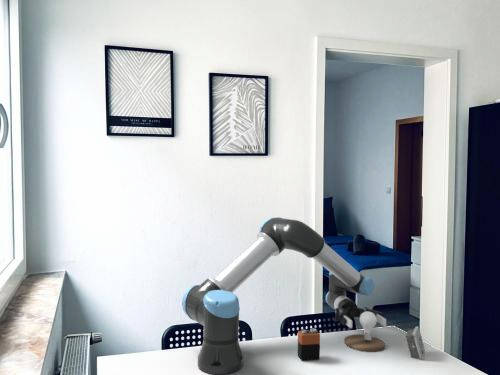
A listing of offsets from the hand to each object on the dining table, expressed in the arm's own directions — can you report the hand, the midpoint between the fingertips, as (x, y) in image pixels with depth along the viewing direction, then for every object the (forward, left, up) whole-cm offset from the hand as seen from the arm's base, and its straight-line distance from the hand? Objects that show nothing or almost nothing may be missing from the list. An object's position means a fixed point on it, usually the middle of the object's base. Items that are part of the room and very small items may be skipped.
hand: (368, 323), depth 159 cm
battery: (-5, -26, -9) cm, 28 cm away
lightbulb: (-2, +2, -8) cm, 8 cm away
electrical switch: (+15, +8, -9) cm, 19 cm away
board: (-2, +1, -9) cm, 9 cm away
